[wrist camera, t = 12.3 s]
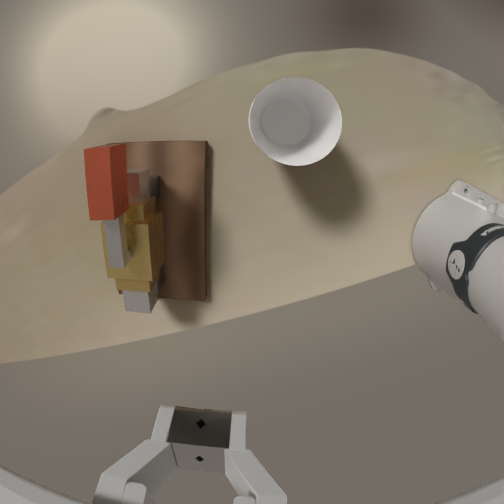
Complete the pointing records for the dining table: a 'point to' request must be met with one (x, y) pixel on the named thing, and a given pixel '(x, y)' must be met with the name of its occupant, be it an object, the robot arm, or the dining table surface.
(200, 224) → the board
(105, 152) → the lever
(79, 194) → the dining table surface
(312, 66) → the dining table surface
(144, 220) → the valve
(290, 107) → the cup
